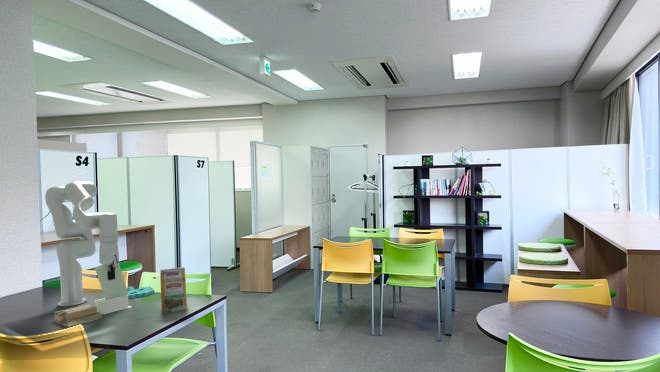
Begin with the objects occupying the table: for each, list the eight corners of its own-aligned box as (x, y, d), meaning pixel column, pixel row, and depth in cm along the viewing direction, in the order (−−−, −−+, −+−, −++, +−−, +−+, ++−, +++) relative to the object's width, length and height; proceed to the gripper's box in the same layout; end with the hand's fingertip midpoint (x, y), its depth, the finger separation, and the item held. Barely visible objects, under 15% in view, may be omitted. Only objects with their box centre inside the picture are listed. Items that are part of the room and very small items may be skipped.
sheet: (106, 304, 198) (94, 268, 195) (127, 293, 206) (116, 259, 202) (108, 304, 198) (96, 268, 194) (128, 294, 205) (117, 259, 202)
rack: (54, 325, 183) (54, 312, 183) (87, 316, 193) (86, 304, 193) (68, 330, 174) (68, 317, 174) (102, 321, 184) (101, 308, 184)
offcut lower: (63, 323, 180) (62, 317, 180) (90, 316, 189) (90, 310, 189) (69, 325, 176) (68, 319, 176) (97, 318, 185) (96, 312, 185)
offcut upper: (62, 317, 180) (62, 311, 180) (90, 310, 189) (90, 304, 189) (68, 319, 176) (68, 313, 176) (96, 312, 185) (96, 306, 185)
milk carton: (186, 305, 205) (184, 265, 205) (186, 311, 195) (185, 269, 195) (162, 308, 202) (160, 267, 202) (161, 314, 192) (160, 271, 192)
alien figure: (104, 300, 224) (138, 300, 220) (104, 295, 224) (138, 296, 220) (129, 290, 244) (161, 290, 240) (129, 286, 244) (161, 286, 240)
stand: (94, 314, 196) (94, 300, 196) (122, 307, 206) (122, 293, 206) (104, 317, 191) (103, 302, 191) (132, 309, 201) (131, 296, 201)
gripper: (92, 240, 201) (94, 279, 201) (108, 241, 192) (110, 282, 192) (109, 238, 207) (110, 276, 207) (125, 239, 198) (127, 279, 198)
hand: (110, 279), depth 199 cm, fingers closed on sheet, 1 cm apart
